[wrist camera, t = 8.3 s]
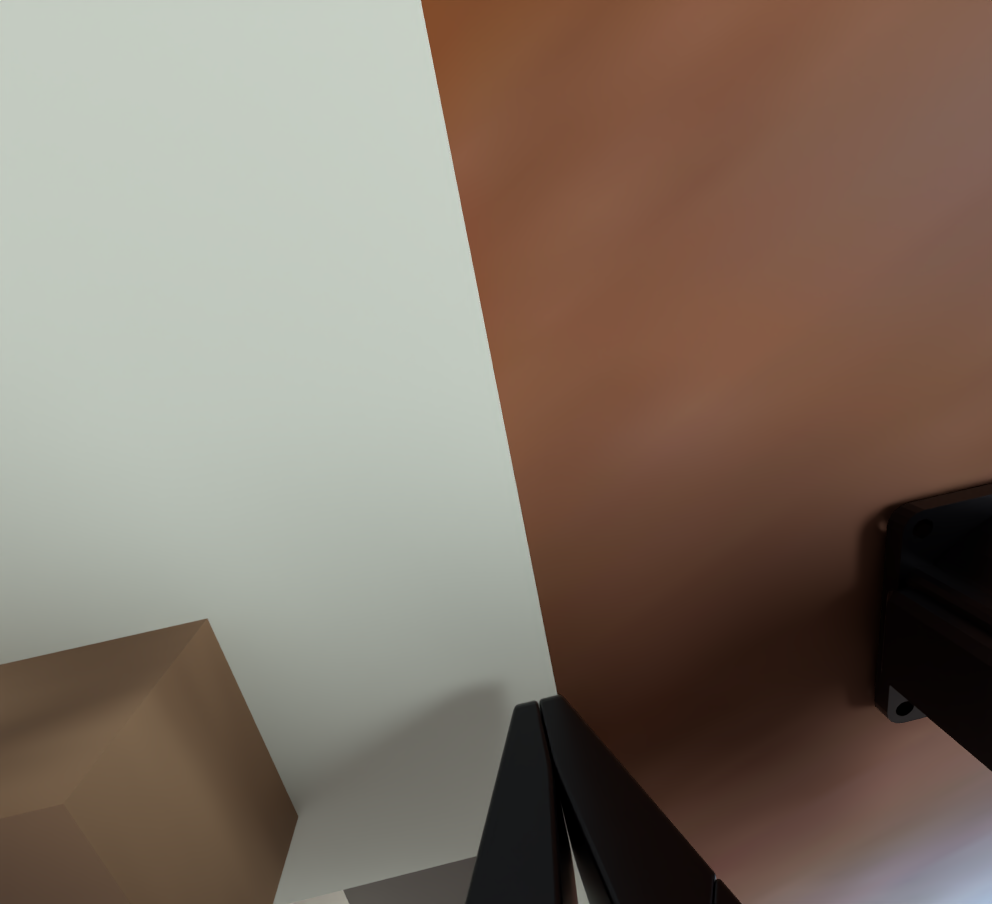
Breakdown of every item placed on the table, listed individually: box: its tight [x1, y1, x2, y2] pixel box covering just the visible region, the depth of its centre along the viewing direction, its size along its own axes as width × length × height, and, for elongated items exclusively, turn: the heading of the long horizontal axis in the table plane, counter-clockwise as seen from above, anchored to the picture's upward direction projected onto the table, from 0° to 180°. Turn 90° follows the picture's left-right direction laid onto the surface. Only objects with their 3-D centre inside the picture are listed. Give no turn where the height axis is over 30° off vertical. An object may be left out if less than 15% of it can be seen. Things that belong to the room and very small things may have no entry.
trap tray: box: [0, 0, 589, 904], centre depth 9 cm, size 18×26×4 cm
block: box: [0, 618, 298, 904], centre depth 7 cm, size 5×5×3 cm
